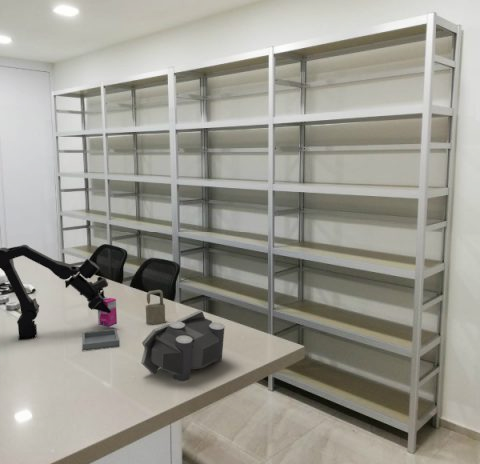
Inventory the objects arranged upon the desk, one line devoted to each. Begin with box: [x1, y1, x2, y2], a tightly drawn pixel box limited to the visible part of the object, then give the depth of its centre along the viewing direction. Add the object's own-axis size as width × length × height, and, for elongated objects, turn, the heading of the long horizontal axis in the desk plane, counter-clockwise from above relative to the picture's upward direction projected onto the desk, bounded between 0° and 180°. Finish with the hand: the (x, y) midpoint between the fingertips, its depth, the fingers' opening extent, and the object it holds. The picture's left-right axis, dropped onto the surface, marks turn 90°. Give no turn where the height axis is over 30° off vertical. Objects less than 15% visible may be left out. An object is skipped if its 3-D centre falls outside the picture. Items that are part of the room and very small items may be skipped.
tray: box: [81, 328, 120, 351], centre depth 206 cm, size 14×14×3 cm
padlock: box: [145, 289, 166, 326], centre depth 228 cm, size 4×8×15 cm, turn 116°
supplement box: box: [97, 296, 118, 328], centre depth 220 cm, size 6×6×12 cm
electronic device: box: [140, 309, 226, 382], centre depth 180 cm, size 18×21×30 cm
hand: (110, 309), depth 220 cm, fingers closed on supplement box, 8 cm apart
